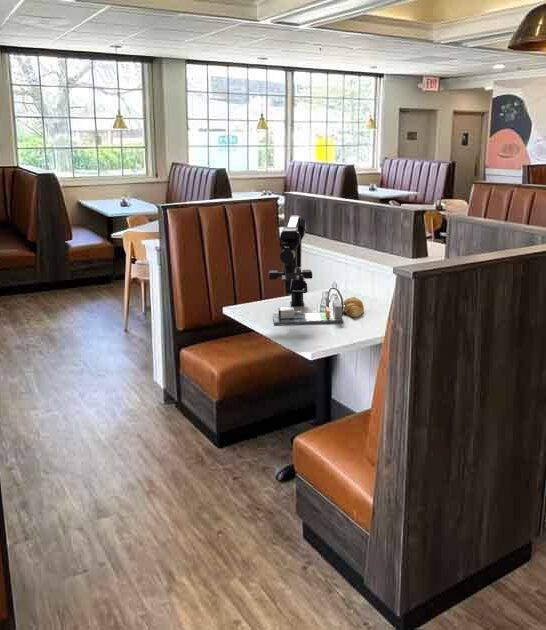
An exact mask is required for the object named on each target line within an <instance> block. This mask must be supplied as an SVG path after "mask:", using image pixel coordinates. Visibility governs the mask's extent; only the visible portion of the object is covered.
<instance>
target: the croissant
mask: <svg viewBox="0 0 546 630" xmlns="http://www.w3.org/2000/svg"><path fill="white" fill-rule="evenodd" d="M342 303H344V305H345V312H346V313H347V315H348V316H350V317H351V318H358V317H360V316H361V315H362V314H363V313H364V311H365V309H364V304H363V301H362V300H361V299H360V298H358V297H356V296H355V297H353V296H352V297H349V298H346V299H345V300H344V301H343V302H342ZM345 312H344V313H345ZM346 313H345V314H346Z"/></svg>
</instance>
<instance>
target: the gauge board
mask: <svg viewBox="0 0 546 630" xmlns="http://www.w3.org/2000/svg"><path fill="white" fill-rule="evenodd" d="M331 302H332V306H331V307H333V314H330V318H327V316H326V314H325V311H322V312H321V311H319V312H303V314H294V318H279V315H278V313H272V315H273V316H272V317H273V325H274V326H280V325H279V324H294V325H327V324H331V323H332V324H345V323H344V318H343V310H342V302H341V301H340V299H332V301H331Z"/></svg>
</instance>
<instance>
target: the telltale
mask: <svg viewBox="0 0 546 630" xmlns="http://www.w3.org/2000/svg"><path fill="white" fill-rule="evenodd" d="M324 308H325V311H324V312H325V314H326V316H327V318H330V312H331V311H330V308H329V306H325V307H324Z"/></svg>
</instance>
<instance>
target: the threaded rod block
mask: <svg viewBox="0 0 546 630" xmlns="http://www.w3.org/2000/svg"><path fill="white" fill-rule="evenodd" d="M303 313H304V310H295V306H290V307H286V306H285V307H279V308H278V315H279V318H294V314H303Z"/></svg>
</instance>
